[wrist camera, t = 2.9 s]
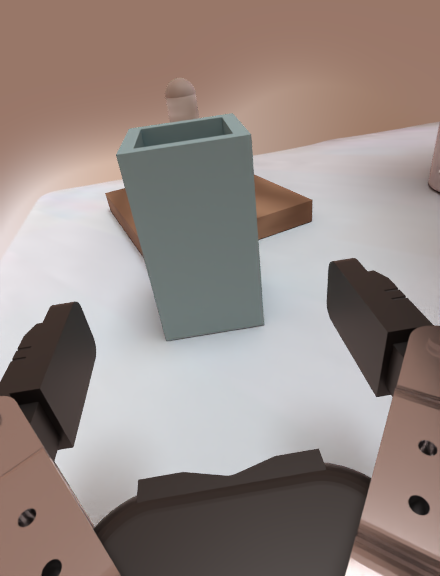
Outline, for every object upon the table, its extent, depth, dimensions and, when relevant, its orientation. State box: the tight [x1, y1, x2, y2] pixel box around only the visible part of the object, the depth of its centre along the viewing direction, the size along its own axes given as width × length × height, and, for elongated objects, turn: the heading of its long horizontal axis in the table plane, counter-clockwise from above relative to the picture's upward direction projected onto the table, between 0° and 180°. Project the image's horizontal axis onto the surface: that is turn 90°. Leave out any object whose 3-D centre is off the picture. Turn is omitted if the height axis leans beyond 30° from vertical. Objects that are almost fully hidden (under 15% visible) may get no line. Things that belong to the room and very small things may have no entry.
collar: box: [116, 114, 264, 341], centre depth 22 cm, size 6×6×11 cm
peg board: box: [105, 78, 312, 257], centre depth 34 cm, size 15×17×12 cm
